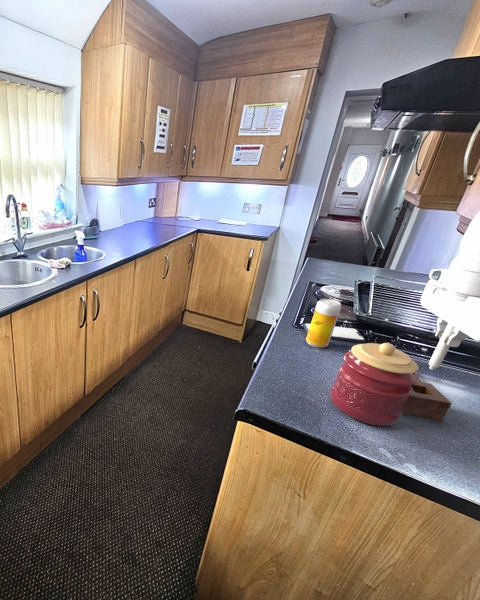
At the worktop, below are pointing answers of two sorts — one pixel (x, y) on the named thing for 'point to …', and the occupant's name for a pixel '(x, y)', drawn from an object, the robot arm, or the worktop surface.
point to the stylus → (441, 349)
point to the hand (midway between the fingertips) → (445, 341)
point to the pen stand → (426, 402)
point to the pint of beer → (323, 322)
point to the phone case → (343, 334)
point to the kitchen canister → (374, 383)
